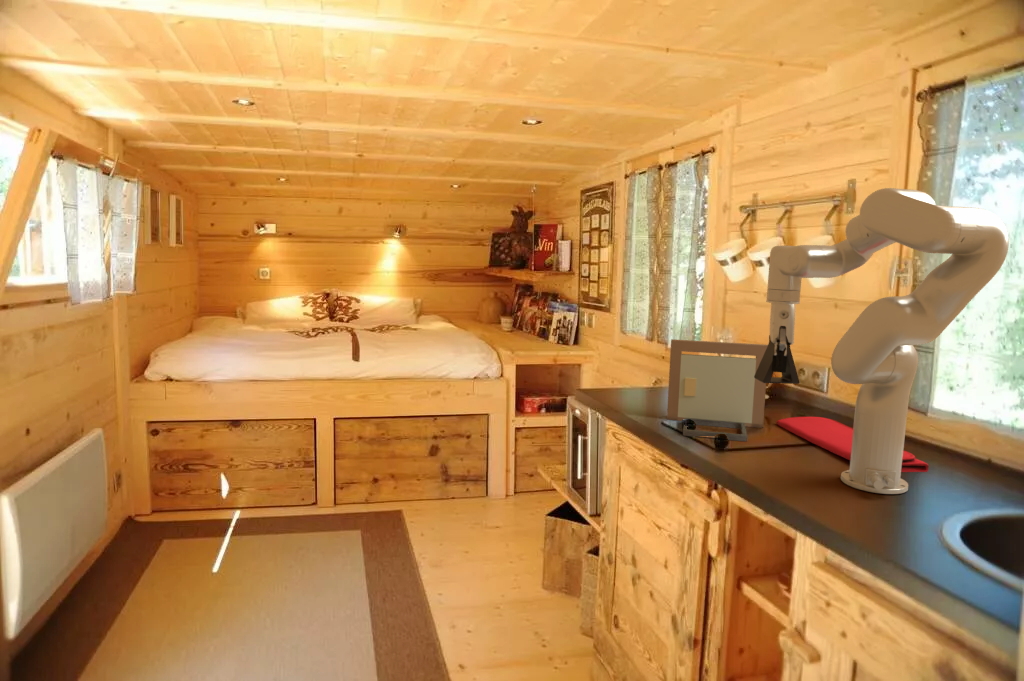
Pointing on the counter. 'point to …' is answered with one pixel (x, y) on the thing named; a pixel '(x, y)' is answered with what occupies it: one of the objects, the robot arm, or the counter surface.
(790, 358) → the phone stand
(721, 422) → the grey flat square frame
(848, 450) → the dish drying mat
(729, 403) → the tan picture frame
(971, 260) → the robot arm
